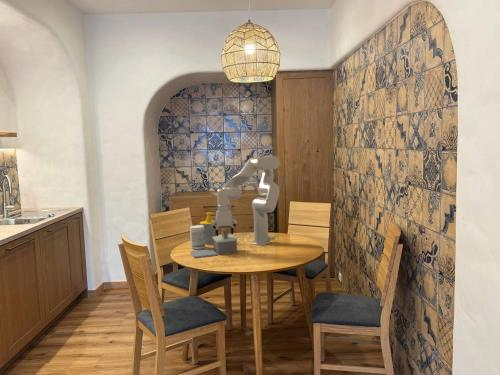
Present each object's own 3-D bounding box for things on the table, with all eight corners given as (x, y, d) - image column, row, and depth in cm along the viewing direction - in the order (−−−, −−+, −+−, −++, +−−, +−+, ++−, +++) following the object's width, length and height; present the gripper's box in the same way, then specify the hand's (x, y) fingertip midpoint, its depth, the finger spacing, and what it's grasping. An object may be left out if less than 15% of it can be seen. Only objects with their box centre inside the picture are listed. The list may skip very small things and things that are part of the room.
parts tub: (231, 248, 277) (231, 236, 276) (236, 252, 265) (236, 240, 265) (213, 250, 273) (213, 238, 272) (218, 255, 262) (217, 242, 261)
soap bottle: (220, 244, 291) (218, 213, 289) (201, 245, 289) (199, 214, 287) (218, 239, 304) (217, 210, 302) (200, 241, 302) (199, 211, 300)
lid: (231, 238, 277) (231, 226, 276) (237, 242, 264) (237, 230, 264) (212, 240, 273) (212, 228, 272) (217, 244, 260) (216, 232, 260)
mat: (212, 250, 274) (212, 249, 274) (217, 255, 260) (217, 254, 260) (190, 252, 269) (190, 251, 269) (194, 258, 256) (194, 256, 256)
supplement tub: (207, 248, 280) (206, 226, 279) (194, 250, 275) (193, 228, 274) (201, 245, 288) (200, 224, 287) (188, 247, 283) (187, 226, 282)
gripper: (235, 206, 273) (235, 232, 274) (208, 208, 267) (210, 234, 269) (238, 207, 266) (239, 234, 267) (211, 210, 260) (212, 237, 262)
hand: (224, 234), depth 268 cm, fingers open, 9 cm apart
